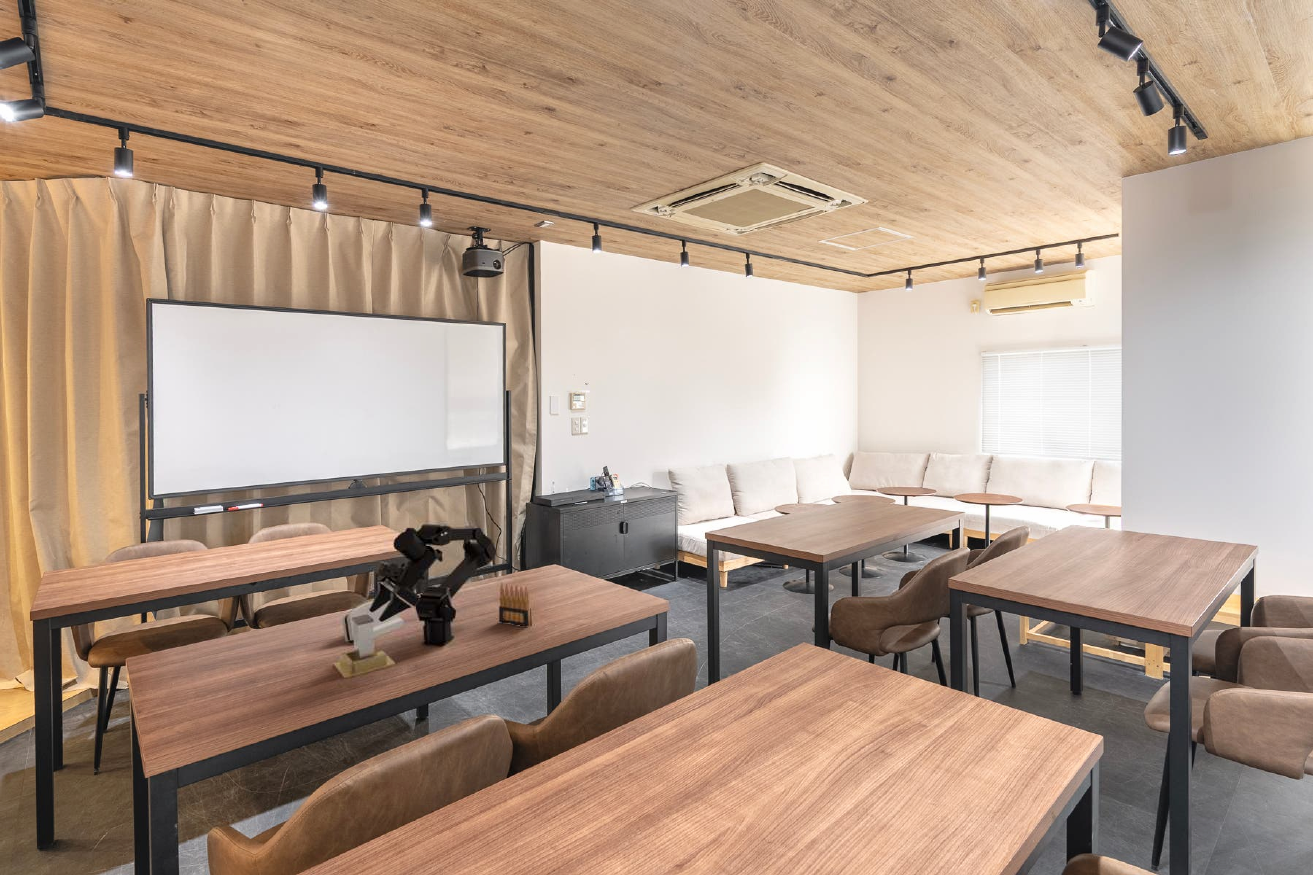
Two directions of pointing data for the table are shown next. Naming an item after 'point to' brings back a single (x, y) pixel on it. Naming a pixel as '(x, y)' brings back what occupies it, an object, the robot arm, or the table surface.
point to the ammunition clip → (514, 606)
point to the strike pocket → (362, 663)
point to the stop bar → (363, 637)
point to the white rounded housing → (378, 626)
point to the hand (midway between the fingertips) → (375, 616)
